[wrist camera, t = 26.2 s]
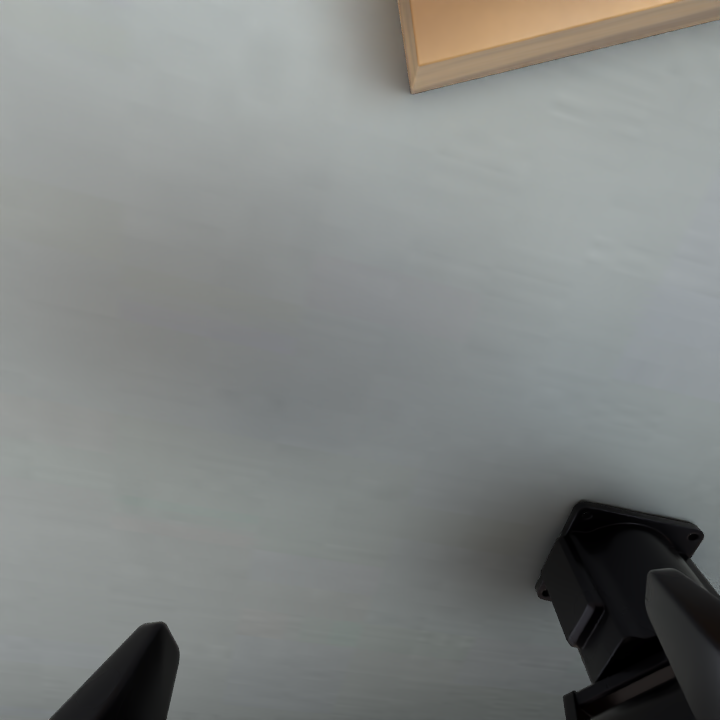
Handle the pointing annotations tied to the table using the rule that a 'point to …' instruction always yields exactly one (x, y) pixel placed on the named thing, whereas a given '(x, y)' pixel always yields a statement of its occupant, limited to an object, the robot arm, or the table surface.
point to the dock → (527, 32)
